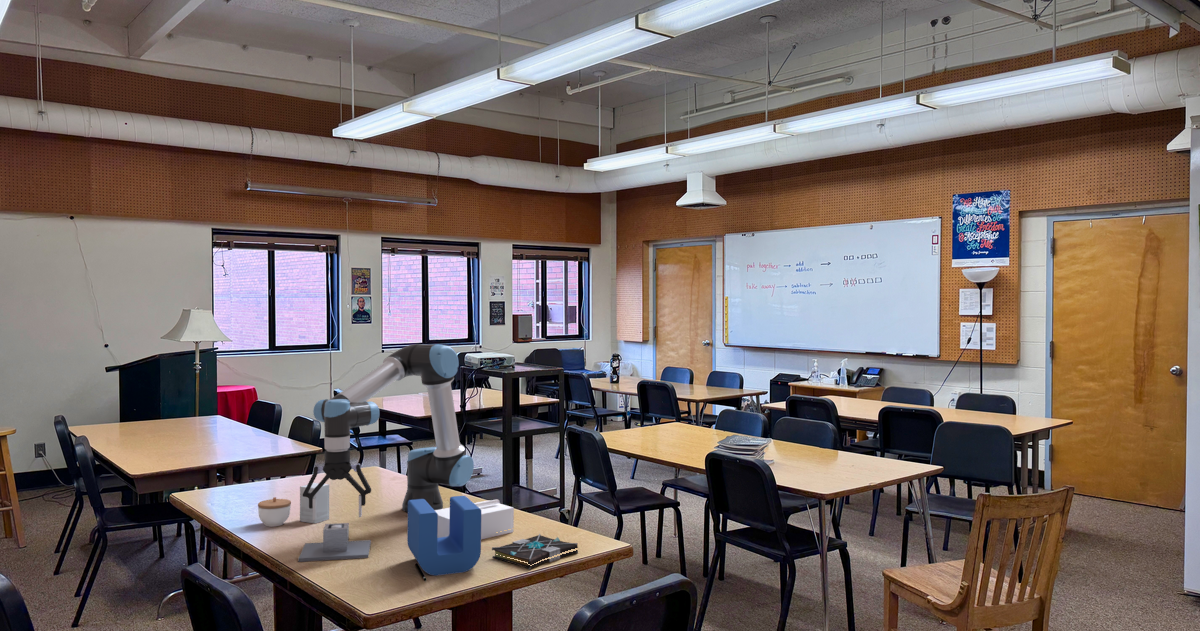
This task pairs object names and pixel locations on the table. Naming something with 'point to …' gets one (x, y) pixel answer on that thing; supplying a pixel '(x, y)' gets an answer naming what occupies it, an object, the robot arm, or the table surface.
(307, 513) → the supplement box
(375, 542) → the table surface
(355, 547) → the plate
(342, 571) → the table surface
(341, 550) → the block
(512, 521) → the tissue box
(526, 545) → the book
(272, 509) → the lidded jar
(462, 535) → the block
